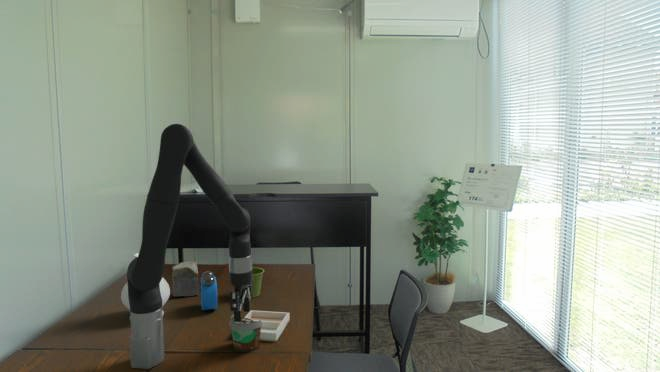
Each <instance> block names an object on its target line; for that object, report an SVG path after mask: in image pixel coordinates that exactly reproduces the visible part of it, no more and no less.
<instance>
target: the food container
mask: <svg viewBox="0 0 660 372" xmlns="http://www.w3.org/2000/svg"><path fill="white" fill-rule="evenodd" d="M228 325H229V327H230V328H231V335H232V345H233V349H234V350H235V351H237V352H242V353H247V352H248V353H249V352H253V351H256V350H259V349H260V343H261V340H260V331H261V327H262V322H261V320H259V321H253V320H251V319H248V318H244V317H241V321H240V322H235V321H234V313H233V314H232V315H230V319H229V322H228Z"/></svg>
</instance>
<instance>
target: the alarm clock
mask: <svg viewBox="0 0 660 372" xmlns="http://www.w3.org/2000/svg"><path fill="white" fill-rule="evenodd" d="M199 290H200V291H199V294H200V303H201V306H200V307H201V310H202V311H206V310H207V311H208V310H214V312H215V311H216V309H217V308H218V284H217V278H216V276H215V275H214V273H213V271H210V270H206V271H204V272H202V274H201V278H200V288H199Z"/></svg>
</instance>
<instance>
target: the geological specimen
mask: <svg viewBox="0 0 660 372" xmlns="http://www.w3.org/2000/svg"><path fill="white" fill-rule="evenodd" d="M171 269H172V296H173V297H174V298H175V297H184V298H185V297H193V296H199V295H200V291H199V290H200V288H199V271H198V264H197V260H196V261H194V260H190V261H187V260H186V261H181V262H179V263H177V264H176V265H173V266H172V267H171Z"/></svg>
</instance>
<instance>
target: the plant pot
mask: <svg viewBox="0 0 660 372" xmlns="http://www.w3.org/2000/svg"><path fill="white" fill-rule="evenodd" d="M264 272H265V269H263V268H262V267H261V268H260V267H252V275H253V281H252V297H251V299H254V298H257V297H259V296H260V295H261V287H262V281H263V277H264Z"/></svg>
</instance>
